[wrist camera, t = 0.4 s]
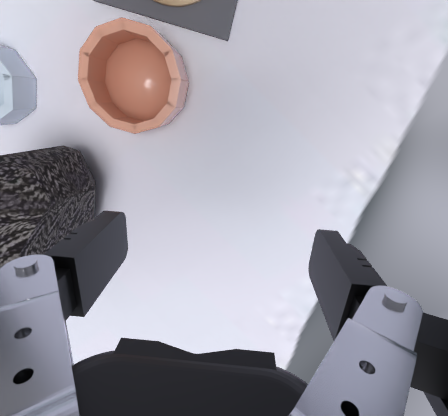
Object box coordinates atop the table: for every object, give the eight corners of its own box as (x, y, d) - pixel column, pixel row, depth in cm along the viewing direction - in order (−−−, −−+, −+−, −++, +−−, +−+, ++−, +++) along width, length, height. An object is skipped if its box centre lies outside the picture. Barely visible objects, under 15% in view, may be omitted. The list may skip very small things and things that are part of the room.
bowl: (105, 19, 32) (82, 5, 27) (196, 46, 33) (189, 37, 28) (96, 114, 36) (75, 117, 31) (177, 137, 37) (168, 143, 32)
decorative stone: (56, 126, 37) (-130, 152, 18) (119, 152, 38) (3, 202, 19) (31, 265, 46) (-112, 379, 27) (83, 284, 46) (-21, 406, 28)
